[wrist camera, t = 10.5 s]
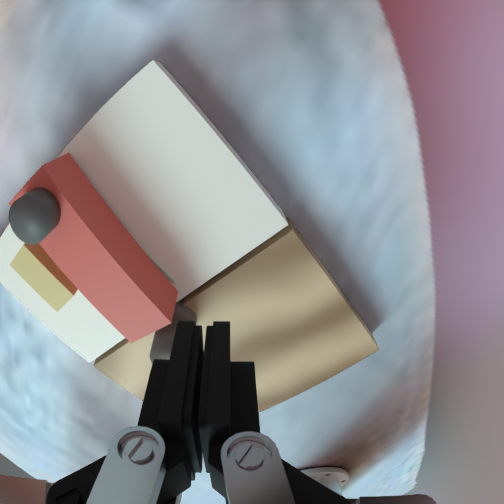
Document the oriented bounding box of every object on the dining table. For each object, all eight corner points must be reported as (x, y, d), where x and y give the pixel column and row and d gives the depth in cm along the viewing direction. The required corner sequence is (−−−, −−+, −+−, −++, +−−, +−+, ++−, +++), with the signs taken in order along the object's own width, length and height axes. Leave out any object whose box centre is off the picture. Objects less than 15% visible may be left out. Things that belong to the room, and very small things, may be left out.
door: (283, 212, 19) (297, 247, 15) (95, 347, 23) (80, 388, 19) (160, 62, 14) (138, 54, 11) (-4, 252, 19) (-35, 284, 15)
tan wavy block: (371, 334, 24) (395, 383, 20) (202, 420, 29) (200, 466, 24) (281, 209, 19) (298, 253, 14) (93, 345, 23) (74, 395, 19)
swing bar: (178, 291, 19) (167, 341, 15) (141, 312, 19) (125, 361, 15) (68, 152, 14) (26, 174, 11) (35, 185, 15) (-7, 214, 11)
